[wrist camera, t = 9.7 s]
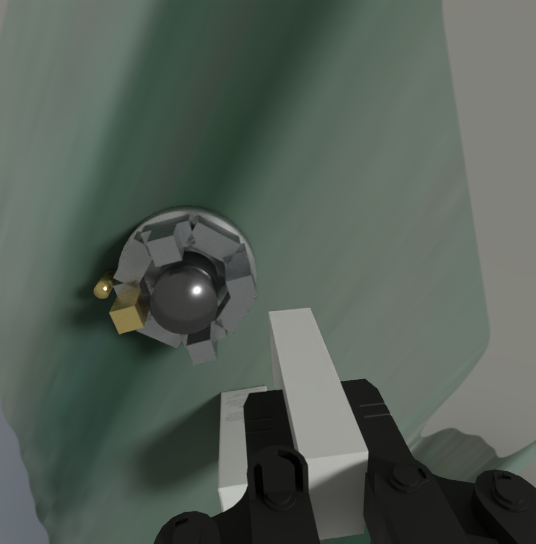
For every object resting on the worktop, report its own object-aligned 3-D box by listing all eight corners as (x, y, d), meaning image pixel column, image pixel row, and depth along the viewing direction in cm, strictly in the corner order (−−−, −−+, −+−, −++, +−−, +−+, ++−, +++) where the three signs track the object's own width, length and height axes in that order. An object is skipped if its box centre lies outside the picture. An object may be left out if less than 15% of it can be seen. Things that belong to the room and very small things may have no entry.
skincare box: (272, 429, 60) (288, 536, 46) (226, 437, 60) (228, 546, 45) (265, 382, 56) (281, 481, 42) (216, 390, 56) (215, 493, 42)
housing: (151, 182, 44) (135, 204, 36) (276, 238, 48) (288, 270, 40) (104, 298, 49) (81, 341, 41) (222, 341, 53) (223, 387, 45)
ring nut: (149, 346, 49) (140, 379, 44) (101, 236, 43) (84, 258, 38) (265, 316, 49) (270, 345, 44) (233, 202, 43) (234, 218, 38)
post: (105, 267, 48) (96, 282, 44) (119, 273, 48) (111, 288, 44) (101, 279, 48) (91, 295, 44) (115, 284, 49) (106, 300, 45)
